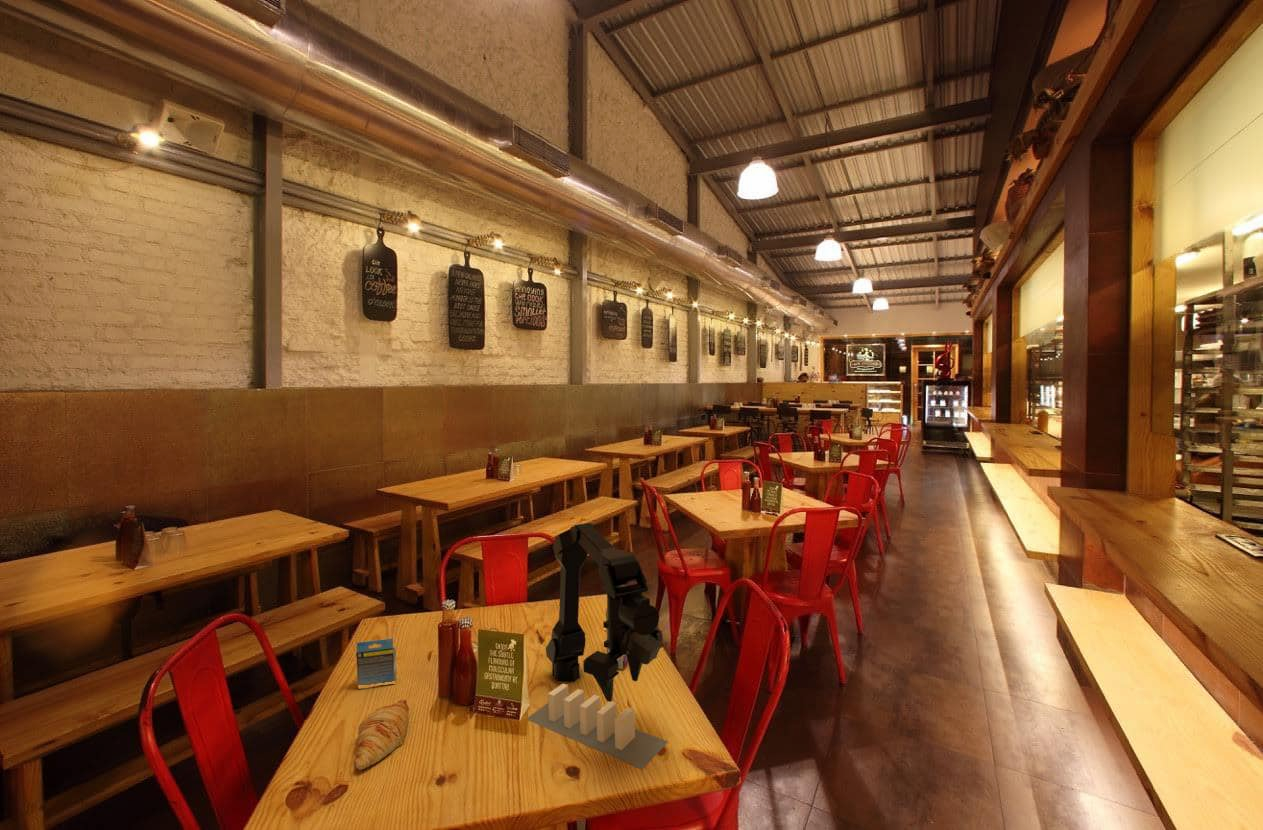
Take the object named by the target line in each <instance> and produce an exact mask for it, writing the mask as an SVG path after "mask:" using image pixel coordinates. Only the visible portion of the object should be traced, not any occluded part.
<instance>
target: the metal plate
mask: <svg viewBox="0 0 1263 830" xmlns="http://www.w3.org/2000/svg"><path fill="white" fill-rule="evenodd" d="M525 720H526V721H529V722H531V723H534V724H536V725H538V726H541V727H542V728H543V727H544V728H546V729H548V730H549V731H552V732H554V733H557V734H559V735H562V736H564V737H566V738H568V739H571V740H573V741H576V742H577V743H580V744H582V745H585V746H587V747H588V748H592V749H594V750H596V751H598V752H601V753H603V754H605V755H608V756H610V757H611V758H615V759H617V760H619V761H621V762H624V763H626V764H629V765H630V766H633V767H635V768H637V769H640V770H644V769H645V768H646V767H647V766H648V764H649V763H650V762H651V761H652V760H653V759H655V757H656V756H657V754H659V752H661V750H662V749H664V747H665V746H666V745H667V744H668V743H669V741H668V740H665V739H663V738H660V737H658V736H655V735H652V734H650V733H649V732H648V733H647V732H645V731H642V730H640V729H636V728H635V738H634V739H633V740H632V741H631V742H630V743H629V744H627V745H626V746H625V747H624V748H623V749H622V750H620V749H617V748H615V733H614V734H613V735H611V736H610V737H609V738H608V739H607V740H606V741H605V742H604V743H603V742H600V741H598V740H597V727H596V728H595V729H594V730H592V731H591V732H590V733H589V734H588V735H587V736H586V735H584V734H581V733H580V721H579V722H578V723H577V724H575V725H574V726H573V727H572V728H570V729H569V728H567V727H565V726H564V715H563V716H562V717H560V718H559V719H558V720H557V721H555V722H553V721H550V720H549V702H547V703H546V704H544V705H543V706H541V708H539V709H537V710H536V711H534V712H533V713H532V714H530V715H529V716H528V717H527V718H525Z"/></svg>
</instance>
